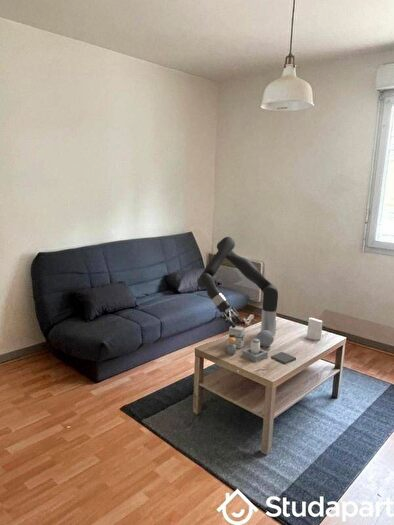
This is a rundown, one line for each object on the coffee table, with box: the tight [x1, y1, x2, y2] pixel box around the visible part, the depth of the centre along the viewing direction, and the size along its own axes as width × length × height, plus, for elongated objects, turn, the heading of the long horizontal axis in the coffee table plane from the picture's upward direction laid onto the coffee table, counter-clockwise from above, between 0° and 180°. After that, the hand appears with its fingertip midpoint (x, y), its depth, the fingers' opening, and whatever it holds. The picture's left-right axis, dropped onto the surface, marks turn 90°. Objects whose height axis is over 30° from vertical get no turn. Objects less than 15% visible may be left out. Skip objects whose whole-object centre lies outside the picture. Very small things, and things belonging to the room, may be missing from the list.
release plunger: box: [228, 337, 236, 344], centre depth 226 cm, size 4×4×2 cm
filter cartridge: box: [250, 337, 261, 355], centre depth 223 cm, size 5×5×10 cm
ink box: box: [227, 325, 246, 349], centre depth 237 cm, size 8×5×12 cm, turn 62°
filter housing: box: [226, 344, 269, 363], centre depth 225 cm, size 16×19×5 cm
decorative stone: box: [256, 330, 274, 348], centre depth 238 cm, size 10×10×10 cm
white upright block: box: [306, 317, 323, 340], centre depth 255 cm, size 9×9×12 cm
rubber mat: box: [270, 351, 297, 365], centre depth 222 cm, size 10×10×1 cm
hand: (237, 325), depth 226 cm, fingers open, 8 cm apart
